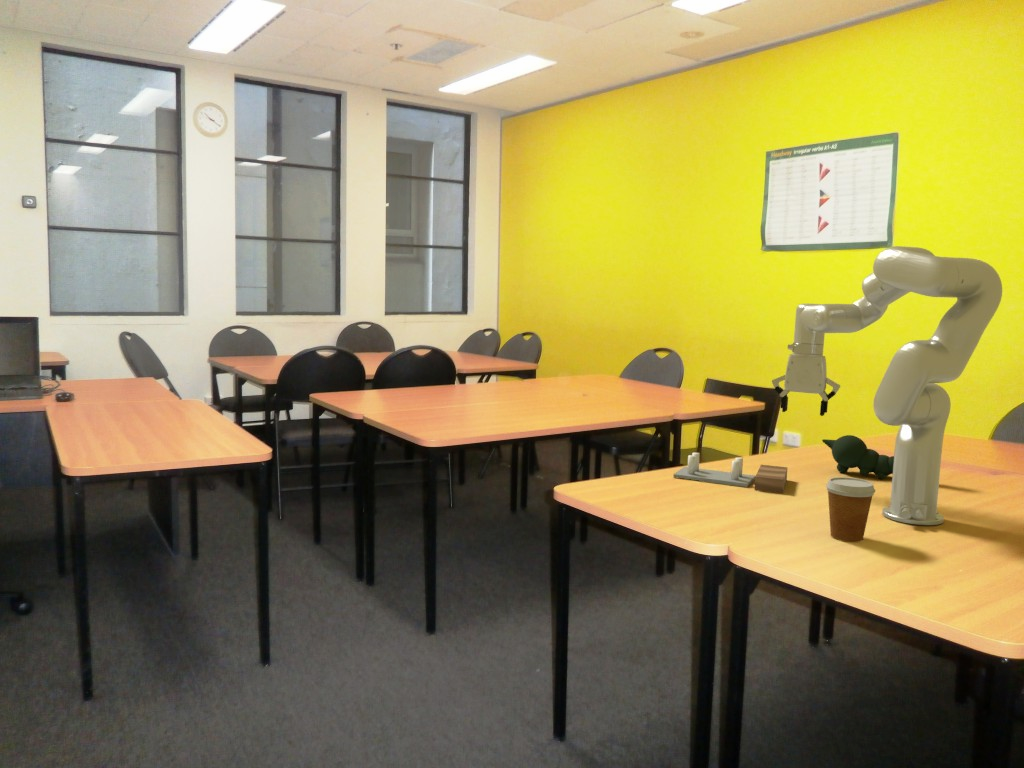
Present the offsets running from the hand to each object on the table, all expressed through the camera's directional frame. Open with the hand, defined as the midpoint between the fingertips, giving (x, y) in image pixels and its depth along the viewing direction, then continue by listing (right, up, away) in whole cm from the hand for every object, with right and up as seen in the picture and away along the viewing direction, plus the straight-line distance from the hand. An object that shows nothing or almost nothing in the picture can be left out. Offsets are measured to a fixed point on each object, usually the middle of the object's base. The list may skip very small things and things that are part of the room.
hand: (803, 413), depth 206 cm
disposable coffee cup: (-8, -25, -45) cm, 52 cm away
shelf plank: (-9, -20, 0) cm, 22 cm away
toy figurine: (+23, -19, +13) cm, 33 cm away
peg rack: (-22, -18, +6) cm, 30 cm away
